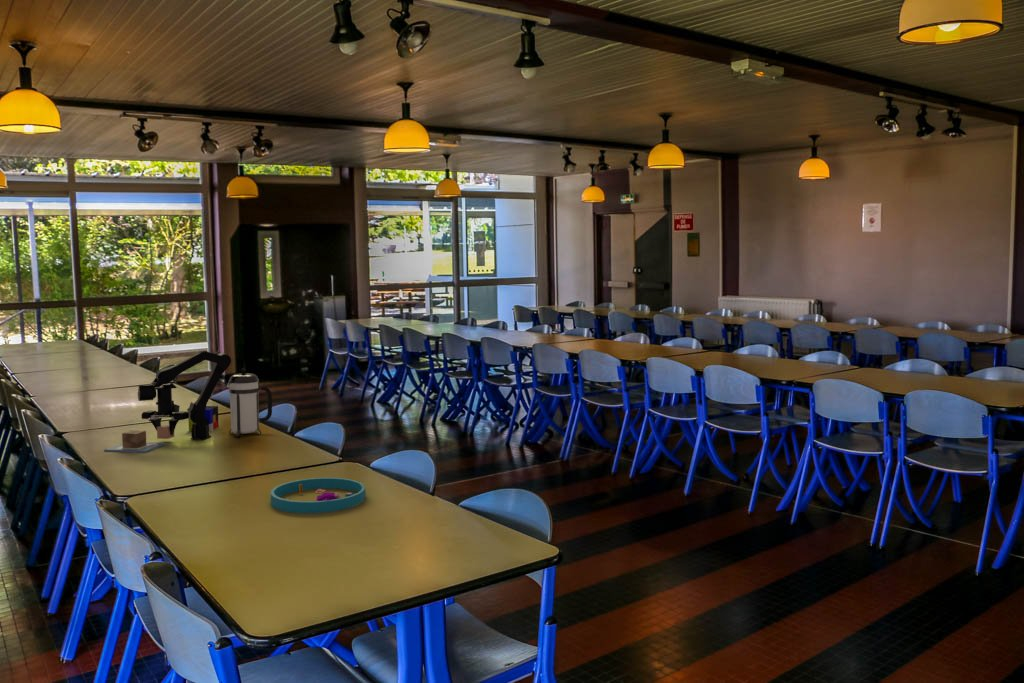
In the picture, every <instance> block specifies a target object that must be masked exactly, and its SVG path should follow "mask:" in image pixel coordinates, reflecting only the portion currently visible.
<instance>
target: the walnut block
mask: <svg viewBox="0 0 1024 683" xmlns="http://www.w3.org/2000/svg"><path fill="white" fill-rule="evenodd" d="M121 436H122V437H121V440H122V442H121V443H122V444H123V448H139V447H142V446H145V445H146V442H147V431H146V430H138V429H137V430H134V429H133V430H128V431H125V432H122V433H121Z"/></svg>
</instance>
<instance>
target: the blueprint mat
mask: <svg viewBox="0 0 1024 683" xmlns="http://www.w3.org/2000/svg"><path fill="white" fill-rule="evenodd" d="M167 444H168V443H167V442H165V441H163V442H162V441H161V442H160V441H159V442H158V441H146V445H145V446H142V447H139V448H123V444H122V442H121V443H118V444H115V445H112V446H110V447H107V448H104V449H103V451H104V452H111V453H117V452H118V453H139V454H142V453H144V454H146V453H149V452H152V451H154V450H156V449H158V448H161V447H164V446H166V445H167Z"/></svg>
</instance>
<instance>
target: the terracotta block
mask: <svg viewBox="0 0 1024 683" xmlns="http://www.w3.org/2000/svg"><path fill="white" fill-rule="evenodd" d="M156 434H157V435H156V438H157V439H158V440H160V439H162V440H167V439H168V440H170V439H171V438H175V432H174V433H173V435H171V434H170V428H169V424H161V426H158V427H157V430H156Z"/></svg>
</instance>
